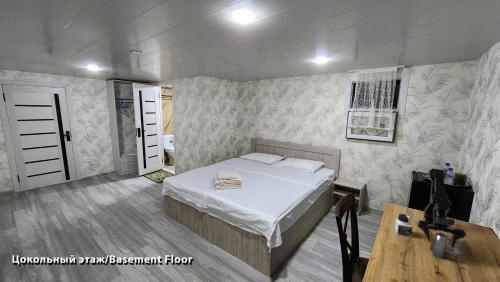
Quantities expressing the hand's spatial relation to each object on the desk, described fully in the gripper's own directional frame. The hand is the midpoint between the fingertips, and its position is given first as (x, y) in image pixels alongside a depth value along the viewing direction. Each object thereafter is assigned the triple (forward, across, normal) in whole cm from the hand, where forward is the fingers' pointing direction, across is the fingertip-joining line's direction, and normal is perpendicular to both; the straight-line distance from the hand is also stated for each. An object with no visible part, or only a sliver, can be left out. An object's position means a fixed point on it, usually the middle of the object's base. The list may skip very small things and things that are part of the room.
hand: (440, 244), depth 110 cm
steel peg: (+4, 0, +6) cm, 7 cm away
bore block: (-4, +6, +14) cm, 16 cm away
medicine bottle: (-6, -15, +16) cm, 23 cm away
